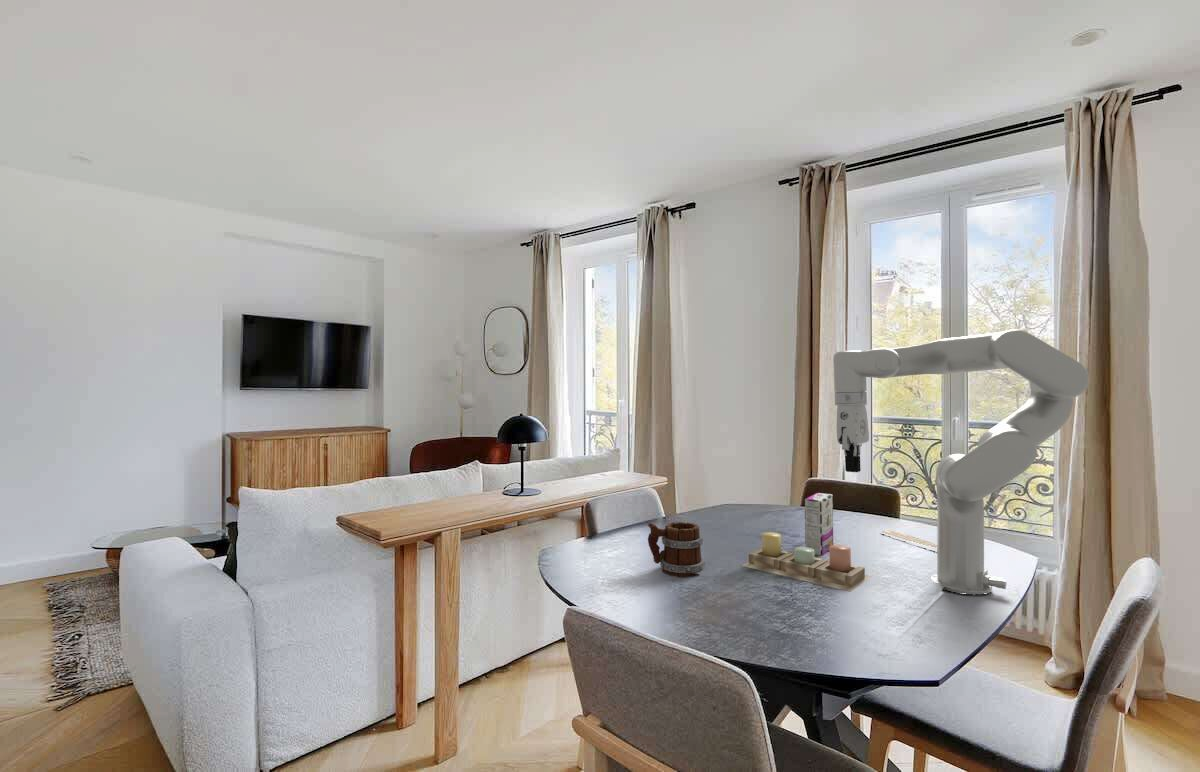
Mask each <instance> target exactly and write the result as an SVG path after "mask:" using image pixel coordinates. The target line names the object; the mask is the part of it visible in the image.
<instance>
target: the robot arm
mask: <svg viewBox="0 0 1200 772" xmlns="http://www.w3.org/2000/svg"><path fill="white" fill-rule="evenodd" d="M1002 369H1004V370H1005V369H1010V370H1011V371H1013V372H1014V373H1015V374H1017V375H1019V376H1020V377H1022V378H1023V379H1025V380H1026V381H1028V382H1029V388H1030V393H1029V397H1028V399H1027V401H1026V402H1025V403H1024V404H1023V405H1022V406H1021V407H1019V408H1018V409H1017V410H1016V411H1015V412H1013V413H1012V414H1010V415H1009V416H1008V417H1006V418H1005V419H1003V420H1002V421H1000V422H998V423H997V424H995V425H994V426H993V427H991V428H990V429H988V430H986V431H985V432H984V433H982V434H981V435H980V437H979V439H978V441H977V447H975V448H973V449H971V451H969V452H968V453H967V454H963V453H954V454H949V455H948V456H945V457H944V458H942V459H941V461H939V463H938V465H937V468H936V470H935V482H936V483H935V486H936V498H937V518H936V521H937V528H936V529H937V534H936V536H937V537H936V539H937V543H936V544H937V553H936V554H937V560H936V561H937V566H936V567H937V573H935V574H932V575H931V576H930V580H931V582H933V583H934V584H935V583H936V584H938V585H939V586H942V588H941V590H942V589H944V590H943V591H945V590H948V591H952V592H951V593H953V592H957V593H956V594H958V593H966V594H984V593H989V592H991V591H993V587H994V588H997V589H1002V590H1006V589H1007V580H1005V579H1003V577H999V576H992V575H990V574H989V573H988V568H987V569H986V568H985V503H984V498H986V497H988V496H990V495H992V494H993V493H995V492H996V491H997V490H999V489H1000V488H1002V487H1003V486H1005V485H1007V484H1008V483H1009V482H1012V481H1013V480H1014V479H1015V478H1017V477H1019V476H1020V475H1021V474H1023V473H1024V472H1026V471H1027V470H1028V469H1029V468H1030V467H1031V466H1032V465H1033V464H1034V463H1035V461H1036V458H1037V453H1038V450H1037V449H1038V448H1037V447H1038V446H1040V445H1041V444H1043V443H1044V442H1046V441H1047V440H1048V439H1050V437H1053V435H1055V434H1056V433H1058V431H1059V430H1060V429H1062V428H1063V427H1064V426H1065V424H1066V423H1067V421H1068V420H1069V418H1070V416H1071V413H1072V410H1073V405H1074V398H1077V397H1078V396H1080V395H1082V394H1083V393H1084V392H1085V391H1086V390H1087V389H1088V387H1089V385H1090V381H1091V379H1090V374H1089V371H1088V370H1087V368H1086V367H1085V366H1084V365H1083V364H1082V363H1080V361H1078V360H1076V359H1075V358H1072V357H1071V356H1070V355H1067V354H1066V353H1064V352H1063V351H1061V350H1059V349H1057V348H1055V347H1054V346H1052V345H1050V344H1049V343H1047V342H1045V341H1044V340H1042V339H1040V338H1038V337H1036V336H1035V335H1033V334H1031V333H1030V332H1027V331H1025V330H1022V329H1008V330H1005V331H999V332H992V333H991V332H990V333H985V334H983V333H982V334H977V335H976V334H975V335H967V336H960V337H959V336H958V337H949V338H942V339H938V340H935V341H931V342H927V343H922V344H917V345H911V346H903V347H893V348H889V347H888V348H887V347H879V348H873V349H868V350H840V351H837V352H835V353H834V355H833V382H834V383H833V385H834V390H833V391H834V406H837V408H836V440H837V443H838V444H839V445H841V450H842V451H843V452H844V453H843V455H844V464H845V465H844V468H845V469H844V470H845V472H848V473H860V472H861V469H862V468H861V447H862V446H863V444H866V443H868V442H869V440H870V436H869V435H870V432H869V420H868V412H867V411H868V410H867V405H868V398H867V397H868V396H867V395H868V392H867V378H876V379H889V378H890V379H891V378H899V377H906V376H919V375H951V374H961V373H962V374H963V373H970V372H982V371H983V372H984V371H991V370H1002ZM948 591H947V592H948ZM991 593H992V592H991ZM989 594H990V593H989Z"/></svg>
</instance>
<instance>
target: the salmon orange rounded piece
mask: <svg viewBox="0 0 1200 772" xmlns="http://www.w3.org/2000/svg"><path fill="white" fill-rule="evenodd" d="M851 551H852V549H851V547H850V546H848V545H843V544H842V545H841V544H833V545H831V546H829V552H828V553H829V556H828V557H829V559H828V561H829V567H830V568H831V569H833V570H837V571H850V570H851V565H852V563H851V562H852V557H851V556H852V552H851Z"/></svg>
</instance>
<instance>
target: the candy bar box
mask: <svg viewBox="0 0 1200 772" xmlns="http://www.w3.org/2000/svg"><path fill="white" fill-rule="evenodd" d="M833 496H834V495H833V494H831V493H822V492H816V493H814V494H812V495H810V496H809V497H807V498H805V499H804V535H805V538H804V540H805V541H804V542H805V546H804V547H807V548H811V549H814V555H816V556H817V555H818V556H824V555H825V554H826V553H829V546H831V545H834V502H833V501H834V500H833Z"/></svg>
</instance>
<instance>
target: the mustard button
mask: <svg viewBox="0 0 1200 772" xmlns="http://www.w3.org/2000/svg"><path fill="white" fill-rule="evenodd" d="M761 548H762V554H764V555H767V556H780V555H781V551H782V535H781V534H780V533H777V532H770V531H769V532H763V533H761Z"/></svg>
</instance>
